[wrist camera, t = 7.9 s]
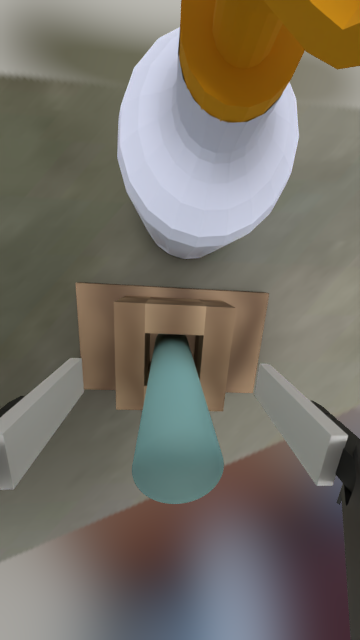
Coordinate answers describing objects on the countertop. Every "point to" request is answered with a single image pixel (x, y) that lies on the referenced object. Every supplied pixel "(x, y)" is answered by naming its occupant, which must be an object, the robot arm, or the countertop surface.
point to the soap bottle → (223, 115)
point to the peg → (175, 429)
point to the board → (105, 338)
